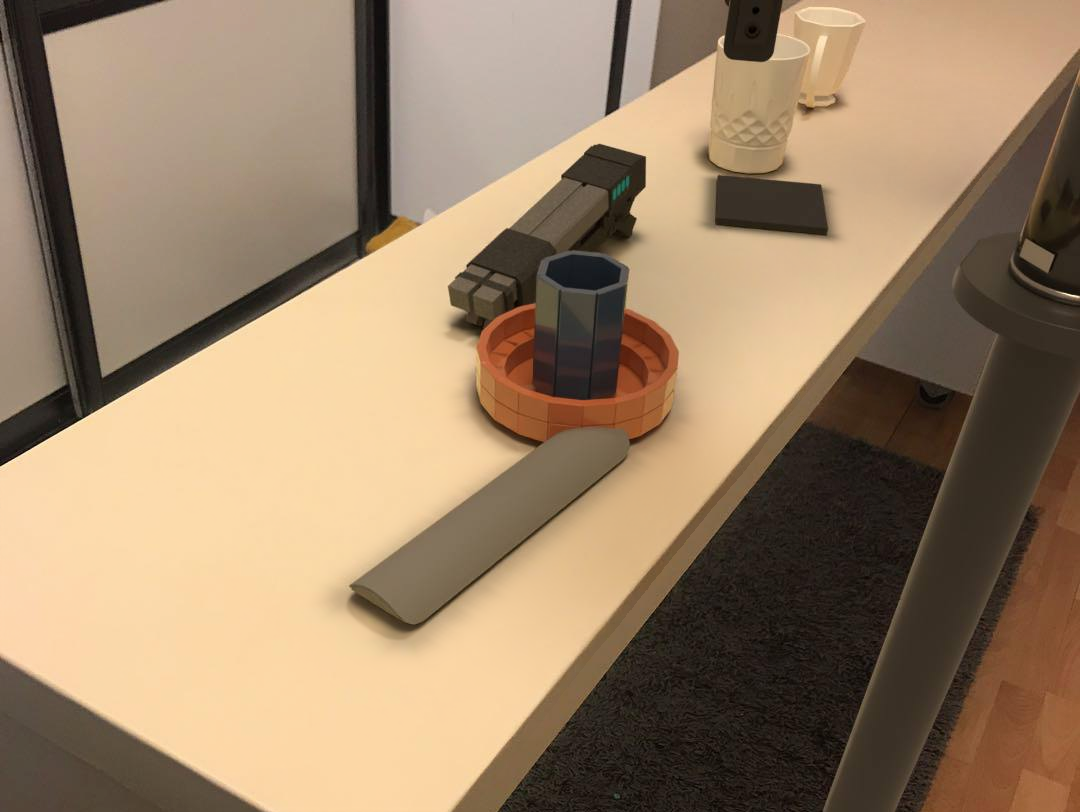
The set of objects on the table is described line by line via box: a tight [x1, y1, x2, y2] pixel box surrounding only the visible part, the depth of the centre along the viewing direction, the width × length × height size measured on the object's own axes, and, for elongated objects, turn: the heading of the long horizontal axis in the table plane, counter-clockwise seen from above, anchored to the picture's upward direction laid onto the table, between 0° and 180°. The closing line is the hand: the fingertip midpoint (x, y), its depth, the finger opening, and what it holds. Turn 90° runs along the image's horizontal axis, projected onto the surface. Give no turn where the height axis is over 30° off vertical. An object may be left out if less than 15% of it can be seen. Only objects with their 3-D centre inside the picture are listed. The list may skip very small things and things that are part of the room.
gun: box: [447, 143, 647, 329], centre depth 78 cm, size 4×20×10 cm, turn 147°
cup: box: [793, 6, 867, 109], centre depth 107 cm, size 7×10×8 cm
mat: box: [715, 174, 829, 236], centre depth 90 cm, size 9×9×1 cm
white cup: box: [708, 33, 810, 175], centre depth 94 cm, size 8×8×10 cm
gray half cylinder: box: [348, 427, 631, 625], centre depth 57 cm, size 4×20×2 cm, turn 142°
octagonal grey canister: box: [532, 250, 630, 400], centre depth 64 cm, size 5×5×8 cm
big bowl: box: [475, 302, 680, 443], centre depth 66 cm, size 12×12×4 cm
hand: (745, 31), depth 51 cm, fingers open, 8 cm apart
